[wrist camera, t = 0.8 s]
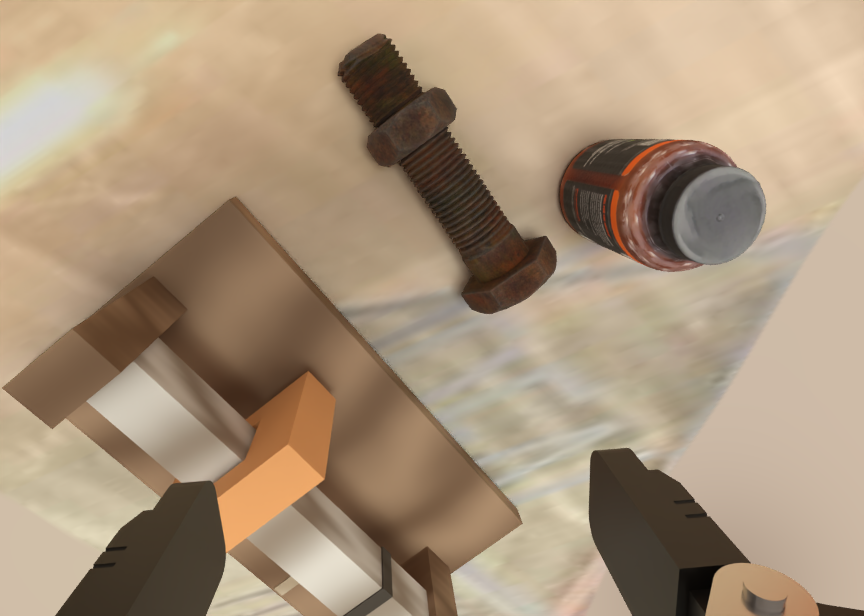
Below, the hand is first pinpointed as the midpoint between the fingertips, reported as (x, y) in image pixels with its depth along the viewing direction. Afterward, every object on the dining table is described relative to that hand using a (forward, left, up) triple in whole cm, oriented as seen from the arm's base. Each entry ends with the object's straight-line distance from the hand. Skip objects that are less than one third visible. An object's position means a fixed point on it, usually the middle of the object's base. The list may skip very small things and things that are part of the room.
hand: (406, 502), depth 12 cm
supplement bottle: (+5, +13, -22) cm, 26 cm away
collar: (+3, -12, -19) cm, 23 cm away
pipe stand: (+6, -12, -22) cm, 26 cm away
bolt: (-2, +6, -23) cm, 23 cm away
